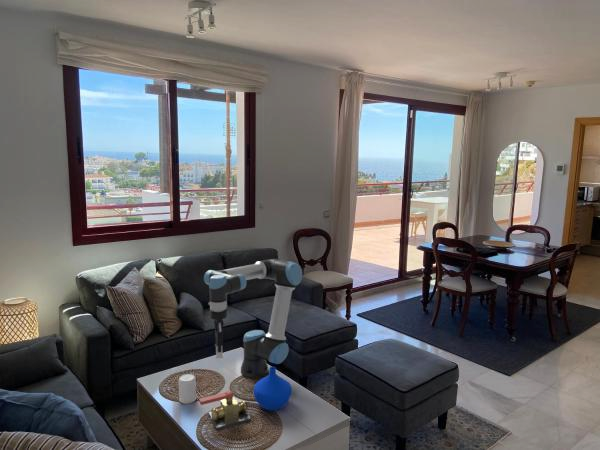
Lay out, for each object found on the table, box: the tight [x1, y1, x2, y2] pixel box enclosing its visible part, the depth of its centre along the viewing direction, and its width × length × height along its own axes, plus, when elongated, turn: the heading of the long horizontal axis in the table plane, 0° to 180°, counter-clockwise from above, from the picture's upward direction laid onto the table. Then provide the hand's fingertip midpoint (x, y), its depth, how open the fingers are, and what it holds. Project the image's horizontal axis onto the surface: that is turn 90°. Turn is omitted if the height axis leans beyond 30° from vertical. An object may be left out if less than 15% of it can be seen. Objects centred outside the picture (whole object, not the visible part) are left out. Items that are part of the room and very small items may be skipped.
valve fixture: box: [208, 396, 252, 431], centre depth 205 cm, size 16×13×10 cm
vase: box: [253, 366, 292, 411], centre depth 215 cm, size 18×18×19 cm
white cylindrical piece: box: [178, 373, 197, 405], centre depth 219 cm, size 8×8×12 cm
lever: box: [198, 390, 234, 406], centre depth 201 cm, size 15×4×2 cm, turn 118°
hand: (219, 357), depth 207 cm, fingers closed
